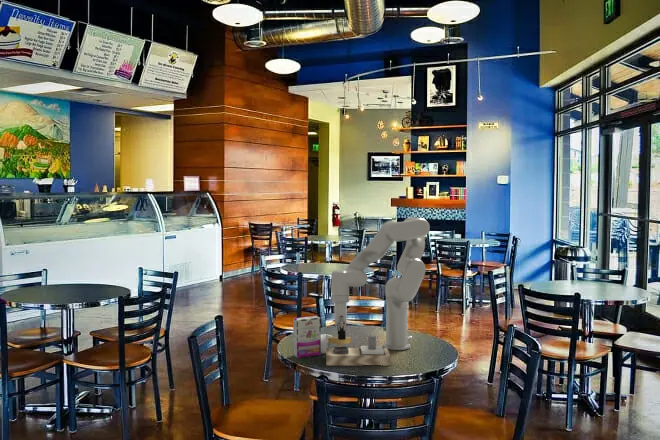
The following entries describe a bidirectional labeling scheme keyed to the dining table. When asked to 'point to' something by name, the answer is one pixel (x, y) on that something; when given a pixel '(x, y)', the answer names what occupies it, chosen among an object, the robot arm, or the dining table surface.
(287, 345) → the dining table surface
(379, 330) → the dining table surface
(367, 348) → the cover
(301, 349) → the candy bar box
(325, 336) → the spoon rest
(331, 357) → the beige flat block
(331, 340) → the t key
